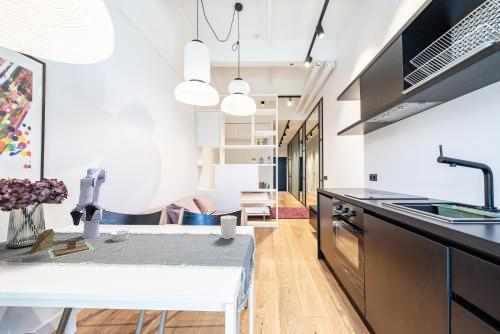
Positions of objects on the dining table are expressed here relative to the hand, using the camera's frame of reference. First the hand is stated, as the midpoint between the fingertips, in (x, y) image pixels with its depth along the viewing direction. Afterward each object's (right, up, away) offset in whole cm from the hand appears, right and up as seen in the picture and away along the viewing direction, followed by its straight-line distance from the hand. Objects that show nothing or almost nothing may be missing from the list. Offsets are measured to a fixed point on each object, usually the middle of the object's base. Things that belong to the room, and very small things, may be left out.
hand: (82, 223), depth 107 cm
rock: (-19, -13, -1) cm, 24 cm away
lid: (-4, -13, -2) cm, 13 cm away
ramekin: (+10, -14, +16) cm, 23 cm away
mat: (-4, -13, -2) cm, 14 cm away
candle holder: (+72, -14, +21) cm, 76 cm away
